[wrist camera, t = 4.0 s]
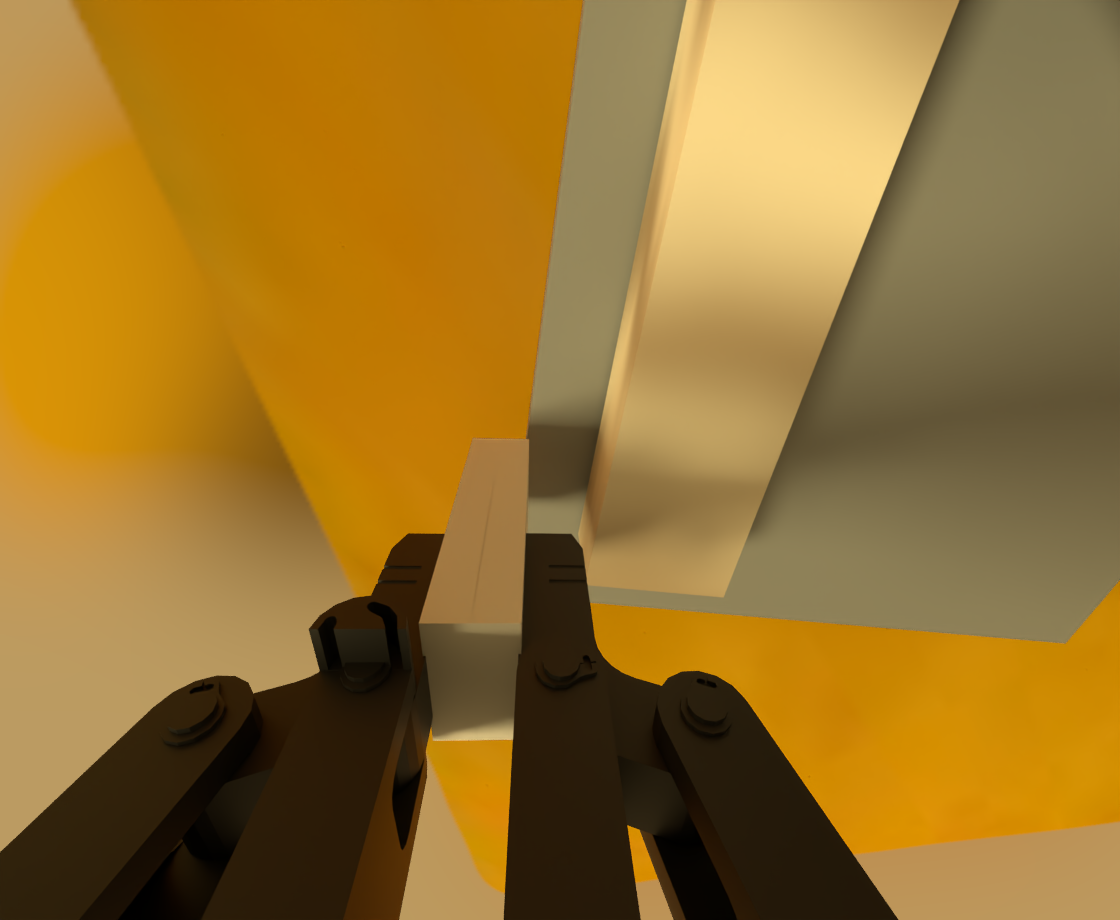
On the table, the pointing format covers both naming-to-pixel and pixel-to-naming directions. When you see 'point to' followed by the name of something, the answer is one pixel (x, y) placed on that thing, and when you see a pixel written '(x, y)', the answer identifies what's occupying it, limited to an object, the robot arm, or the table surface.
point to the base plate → (892, 337)
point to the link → (743, 268)
